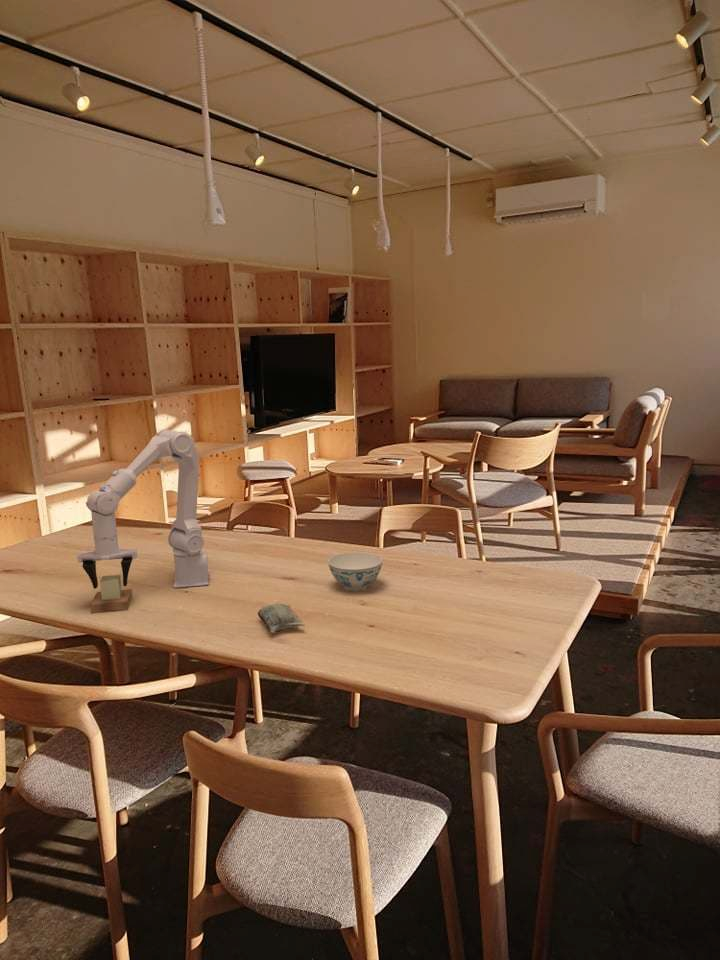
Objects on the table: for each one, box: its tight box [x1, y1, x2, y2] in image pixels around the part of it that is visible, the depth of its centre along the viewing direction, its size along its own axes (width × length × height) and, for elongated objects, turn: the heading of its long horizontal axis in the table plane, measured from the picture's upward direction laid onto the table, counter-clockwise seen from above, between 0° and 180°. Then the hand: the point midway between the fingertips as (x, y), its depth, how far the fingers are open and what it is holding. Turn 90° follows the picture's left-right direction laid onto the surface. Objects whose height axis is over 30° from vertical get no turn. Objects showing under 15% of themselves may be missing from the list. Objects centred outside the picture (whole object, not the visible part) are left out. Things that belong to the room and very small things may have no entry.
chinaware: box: [327, 551, 383, 592], centre depth 193 cm, size 15×15×8 cm
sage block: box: [99, 574, 123, 600], centre depth 183 cm, size 4×4×5 cm
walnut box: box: [90, 588, 134, 615], centre depth 184 cm, size 9×9×3 cm
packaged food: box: [257, 602, 305, 634], centre depth 168 cm, size 9×12×5 cm
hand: (110, 586), depth 183 cm, fingers open, 7 cm apart
